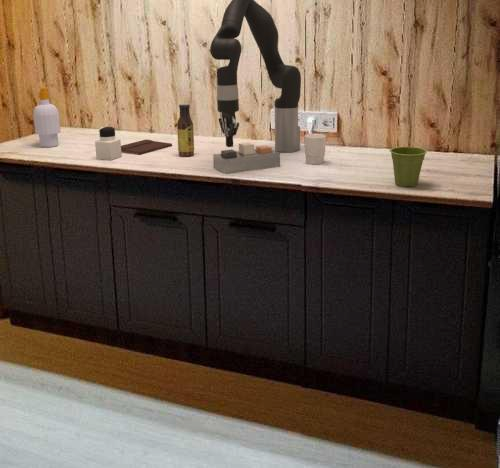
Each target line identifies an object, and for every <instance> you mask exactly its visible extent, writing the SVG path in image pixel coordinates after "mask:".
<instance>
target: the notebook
mask: <svg viewBox="0 0 500 468" xmlns="http://www.w3.org/2000/svg"><path fill="white" fill-rule="evenodd" d="M171 147H173V143H171V142H164V141H155V140H151V139H147V138H146V139H142V140H138V141H134V142H131V143H127V144H123V145H122V144H121V154H123V153H124V154H128V155H137V156H141V155H145V154H148V153H153V152H155V151H161V150H163V149H167V148H171Z"/></svg>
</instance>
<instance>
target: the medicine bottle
mask: <svg viewBox="0 0 500 468" xmlns="http://www.w3.org/2000/svg"><path fill="white" fill-rule="evenodd" d="M98 134H99V135H98V137H99V139H97V140H95V142H94V143H95V145H94V146H95V156H96V159H97V160H103V161H113V160H116V159H119V158H122V154H123V153H122V152H121V146H122V142H121V139H120V138H116V128H115V127H113V126H102V127H100V128H99V129H98Z"/></svg>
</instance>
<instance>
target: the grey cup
mask: <svg viewBox="0 0 500 468" xmlns="http://www.w3.org/2000/svg"><path fill="white" fill-rule="evenodd" d="M303 137H304V155H305V163H306V164H307V165H322V164H324V163H325V155H326V154H325V153H326V144H327V143H326V139H327V138H326V137H327V135H326V134H324V133H323V134H322V133H309V134H305V135H304V136H303Z"/></svg>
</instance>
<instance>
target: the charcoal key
mask: <svg viewBox="0 0 500 468" xmlns="http://www.w3.org/2000/svg"><path fill="white" fill-rule="evenodd" d="M220 154H221V156H222V157H224V158H229V157H237V150H234V149H223V150H221V151H220Z"/></svg>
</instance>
